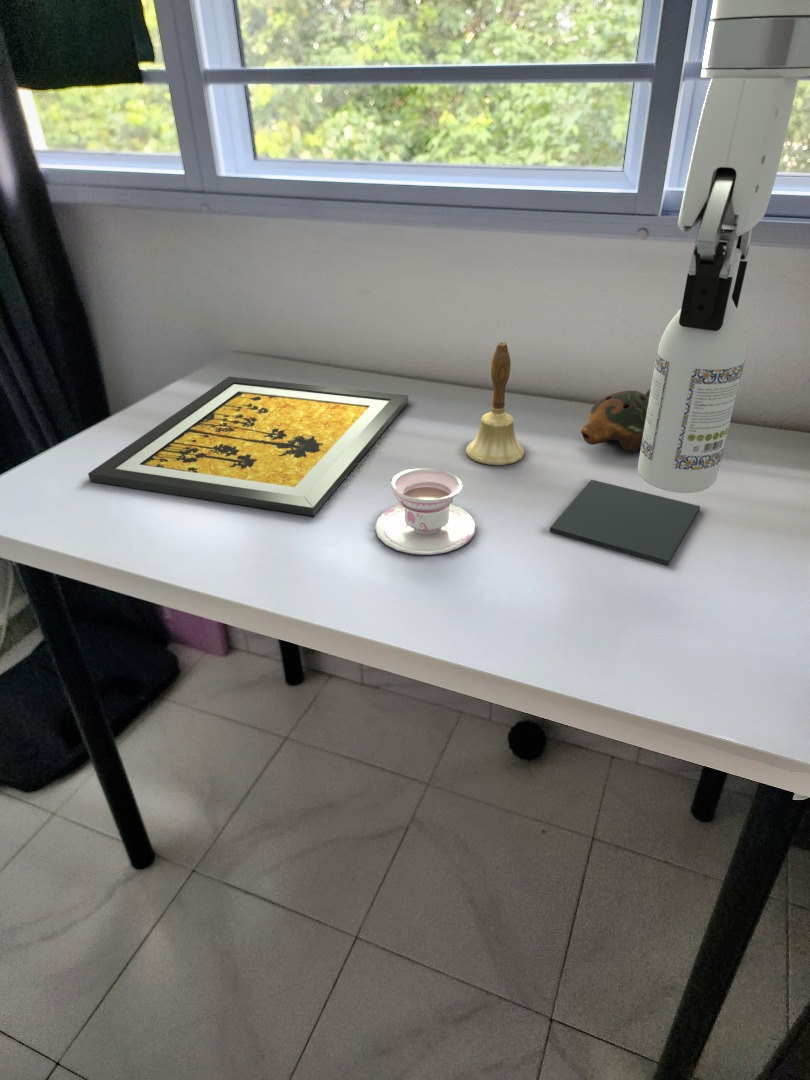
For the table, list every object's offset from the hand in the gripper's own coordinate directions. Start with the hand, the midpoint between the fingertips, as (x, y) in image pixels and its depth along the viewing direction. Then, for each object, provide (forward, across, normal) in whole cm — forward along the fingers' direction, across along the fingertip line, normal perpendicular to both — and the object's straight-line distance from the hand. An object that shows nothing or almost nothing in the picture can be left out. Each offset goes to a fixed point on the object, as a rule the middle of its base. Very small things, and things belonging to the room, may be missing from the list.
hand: (708, 315), depth 61 cm
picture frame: (+30, -12, -61) cm, 69 cm away
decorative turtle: (+30, -36, -14) cm, 49 cm away
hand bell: (+30, -24, -29) cm, 48 cm away
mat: (+30, -15, -7) cm, 34 cm away
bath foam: (+15, 0, 0) cm, 15 cm away
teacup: (+30, -1, -27) cm, 40 cm away
